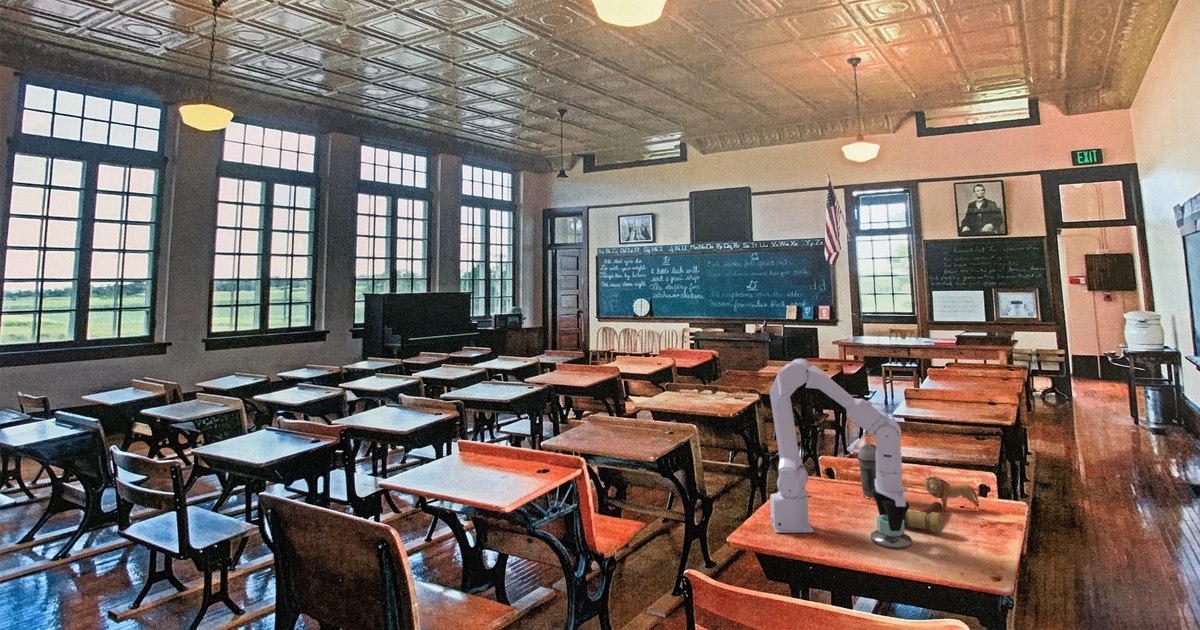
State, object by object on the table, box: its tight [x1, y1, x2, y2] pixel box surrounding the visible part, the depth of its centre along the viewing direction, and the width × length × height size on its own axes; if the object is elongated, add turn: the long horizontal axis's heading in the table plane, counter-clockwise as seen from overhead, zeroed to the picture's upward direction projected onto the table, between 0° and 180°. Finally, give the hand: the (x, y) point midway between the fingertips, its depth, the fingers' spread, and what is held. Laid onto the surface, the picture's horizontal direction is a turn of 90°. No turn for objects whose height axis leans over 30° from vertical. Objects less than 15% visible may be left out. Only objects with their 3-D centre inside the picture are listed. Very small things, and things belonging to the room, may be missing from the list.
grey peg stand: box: [870, 529, 913, 550], centre depth 146 cm, size 9×9×4 cm
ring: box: [876, 515, 906, 536], centre depth 146 cm, size 6×6×3 cm
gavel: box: [903, 501, 944, 533], centre depth 157 cm, size 21×5×10 cm
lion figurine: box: [924, 474, 980, 511], centre depth 164 cm, size 15×5×9 cm, turn 86°
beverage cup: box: [857, 432, 876, 498], centre depth 176 cm, size 7×7×20 cm
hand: (890, 525), depth 146 cm, fingers closed on ring, 5 cm apart
